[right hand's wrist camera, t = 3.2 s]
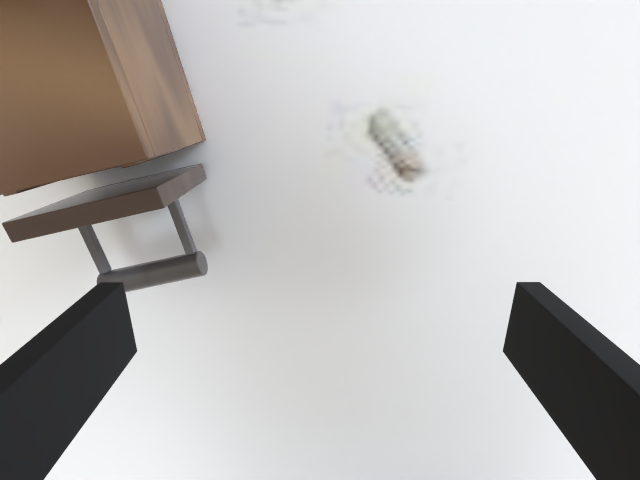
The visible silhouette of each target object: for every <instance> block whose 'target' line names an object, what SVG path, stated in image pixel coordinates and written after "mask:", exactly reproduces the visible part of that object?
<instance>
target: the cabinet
mask: <svg viewBox="0 0 640 480" xmlns="http://www.w3.org/2000/svg"><path fill="white" fill-rule="evenodd" d="M205 140H206V139H205V136H204V132H203V129H202V126H201V123H200V120H199V117H198V114H197V111H196V108H195V105H194V102H193V98H192V95H191V92H190V89H189V86H188V83H187V80H186V77H185V74H184V71H183V68H182V65H181V61H180V58H179V55H178V52H177V49H176V46H175V43H174V40H173V37H172V34H171V31H170V27H169V24H168V21H167V18H166V15H165V12H164V9H163V6H162V3H161V0H0V195H2V194H6V193H11V192H15V191H19V190H23V189H27V188H31V187H35V186H40V185H44V184H48V183H52V182H56V181H60V180H65V179H69V178H73V177H77V176H81V175H85V174H89V173H94V172H98V171H102V170H106V169H110V168H114V167H119V166H123V165H127V164H131V163H135V162H139V161H143V160H148V159H151V158H154V157H157V156H160V155H163V154H166V153H169V152H172V151H175V150H178V149H181V148H184V147H187V146H190V145H193V144H196V143H199V142H202V141H205Z"/></svg>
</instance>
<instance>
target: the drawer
mask: <svg viewBox="0 0 640 480" xmlns="http://www.w3.org/2000/svg"><path fill="white" fill-rule="evenodd" d="M181 149H183V148H181ZM181 149H178V150H181ZM178 150H175V151H178ZM175 151H172V152H175ZM172 152H169V153H172ZM169 153H166V154H169ZM166 154H163V155H166ZM163 155H160V156H163ZM160 156H157V157H160ZM157 157H154V158H157ZM154 158H151V159H148V160H143V161H139V162H135V163H131V164H127V165H123V166H122V168H125V167H129V166H134V165H137V164H140V163H143V162H146V161H149V160H152V159H154ZM204 180H206V176H205V173H204V170H203V167H202V164H197V165H193V166H189V167H185V168H181V169H176V170H172V171H168V172H164V173H160V174H155V175H151V176H147V177H143V178H138V179H134V180H130V181H126V182H122V183H117V184H113V185H109V186H105V187H100V188H96V189H92V190H88V191H85V192H82V193H80V194H77V195H75V196H72V197H69V198H67V199H64V200H61V201H59V202H56V203H53V204H51V205H48V206H46V207H43V208H40V209H38V210H35V211H32V212H30V213H27V214H25V215H22V216H19V217H17V218H14V219H11V220H9V221H6V222H4V223H2V225H3V227H4V229H5V230H6V232H7V234H8V236H9V238H10V240H11V241H12V242H18V241H22V240H26V239H31V238H35V237H40V236H44V235H48V234H53V233H57V232H61V231H66V230H70V229H74V228H79V231H80V233H81V235H82V237H83V239H84V241H85V243H86V245H87V247H88V250H89V252H90V254H91V256H92V258H93V260H94V262H95V264H96V266H97V269H98V271H99V273H100V274H99V276H98V278H97V284H99V283H100V282H123V284H124V289H125V292H129V291H133V290H138V289H143V288H147V287H152V286H157V285H161V284H166V283H171V282H176V281H180V280H185V279H190V278H194V277H199V276H204V275H205V274H206V273H207V261H206V258H205V256H204V254H203V253H202V252H201V251H198V252H196V251H197V250H196V247H195V245H194V242H193V239H192V237H191V234H190V231H189V228H188V226H187V223H186V220H185V218H184V215H183V212H182V209H181V207H180V204H179V201H178V198H179V197H181V196H182V195H184V194H185V193H187V192H188V191H190V190H191V189H193V188H194V187H195V186H197V185H198V184H200V183H201V182H203V181H204ZM56 182H57V181H56ZM52 183H53V182H52ZM48 184H50V183H48ZM44 185H47V184H44ZM44 185H40V186H44ZM40 186H35V187H31V188H27V189H23V190H19V191H15V192H11V193H6V194H3V195H4V196H9V195H13V194H17V193H20V192H24V191H27V190H30V189H34V188H37V187H40ZM167 205H168V208H169V210H170V213H171V216H172V218H173V221H174V224H175V226H176V229H177V232H178V234H179V237H180V239H181V242H182V245H183V247H184V250H185V253H186V254H184V255H179V256H175V257H170V258H165V259H161V260H156V261H152V262H147V263H143V264H138V265H133V266H129V267H124V268H120V269H115V270H111V267H110V265H109V262H108V260H107V258H106V256H105V254H104V251H103V249H102V247H101V245H100V243H99V241H98V238H97V236H96V234H95V232H94V230H93V228H92V224H96V223H101V222H105V221H109V220H114V219H118V218H122V217H127V216H131V215H135V214H140V213H144V212H149V211H153V210H157V209H162V208H165V207H166V206H167ZM110 270H111V271H110Z"/></svg>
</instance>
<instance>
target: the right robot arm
mask: <svg viewBox="0 0 640 480" xmlns="http://www.w3.org/2000/svg"><path fill="white" fill-rule="evenodd" d="M136 352H137V348H136V343H135V338H134V333H133V328H132V323H131V319H130V314H129V309H128V304H127V299H126V294H125V289H124V284H123V282H100V283H99V284H97V285H96V286H95V287H94V288H93V289H91V290H90V291H89V292H88V293H87V294H85V295H84V296H83V297H82V298H80V299H79V300H78V301H77V302H76V303H74V304H73V305H72V306H71V307H70V308H68V309H67V310H66V311H65V312H64V313H62V314H61V315H60V316H59V317H58V318H56V319H55V320H54V321H53V322H51V323H50V324H49V325H48V326H47V327H45V328H44V329H43V330H42V331H41V332H39V333H38V334H37V335H36V336H35V337H33V338H32V339H31V340H30V341H29V342H27V343H26V344H25V345H24V346H23V347H21V348H20V349H19V350H18V351H16V352H15V353H14V354H13V355H12V356H10V357H9V358H8V359H7V360H6V361H4V362H3V363H2V364H1V365H0V480H44V478H45V477H46V476H47V474H48V473H49V472H50V470H51V469H52V467H53V466H54V465H55V463H56V462H57V461H58V459H59V458H60V456H61V455H62V454H63V452H64V451H65V450H66V448H67V447H68V445H69V444H70V443H71V441H72V440H73V439H74V437H75V436H76V434H77V433H78V432H79V430H80V429H81V428H82V426H83V425H84V423H85V422H86V421H87V419H88V418H89V417H90V415H91V414H92V412H93V411H94V410H95V408H96V407H97V406H98V404H99V403H100V402H101V400H102V399H103V397H104V396H105V395H106V393H107V392H108V391H109V389H110V388H111V386H112V385H113V384H114V382H115V381H116V380H117V378H118V377H119V375H120V374H121V373H122V371H123V370H124V369H125V367H126V366H127V364H128V363H129V362H130V360H131V359H132V358H133V356H134V355H135V353H136ZM503 352H504V353H505V355H506V356H507V358H508V359H509V360H510V362H511V363H512V364H513V366H514V367H515V369H516V370H517V371H518V373H519V374H520V375H521V377H522V378H523V380H524V381H525V382H526V384H527V385H528V386H529V388H530V389H531V391H532V392H533V393H534V395H535V396H536V397H537V399H538V400H539V402H540V403H541V404H542V406H543V407H544V408H545V410H546V411H547V412H548V414H549V415H550V417H551V418H552V419H553V421H554V422H555V423H556V425H557V426H558V428H559V429H560V430H561V432H562V433H563V434H564V436H565V437H566V439H567V440H568V441H569V443H570V444H571V445H572V447H573V448H574V450H575V451H576V452H577V454H578V455H579V456H580V458H581V459H582V461H583V462H584V463H585V465H586V466H587V467H588V469H589V470H590V472H591V473H592V474H593V476H594V477H595V478H596V480H640V365H639V364H638V363H637V362H636V361H634V360H633V359H632V358H631V357H630V356H628V355H627V354H626V353H625V352H624V351H622V350H621V349H620V348H619V347H617V346H616V345H615V344H614V343H613V342H611V341H610V340H609V339H608V338H607V337H605V336H604V335H603V334H602V333H601V332H599V331H598V330H597V329H596V328H595V327H593V326H592V325H591V324H590V323H589V322H587V321H586V320H585V319H584V318H582V317H581V316H580V315H579V314H578V313H576V312H575V311H574V310H573V309H572V308H570V307H569V306H568V305H567V304H566V303H564V302H563V301H562V300H561V299H560V298H558V297H557V296H556V295H555V294H553V293H552V292H551V291H550V290H549V289H547V288H546V287H545V286H544V285H543V284H541V283H540V282H517V284H516V289H515V294H514V299H513V304H512V309H511V314H510V319H509V323H508V328H507V333H506V338H505V343H504V348H503Z"/></svg>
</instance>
